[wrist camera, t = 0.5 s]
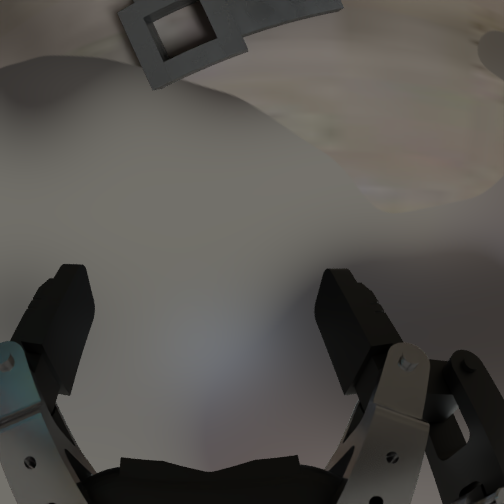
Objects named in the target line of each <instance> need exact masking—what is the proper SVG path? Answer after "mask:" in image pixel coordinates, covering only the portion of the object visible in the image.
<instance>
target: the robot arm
mask: <svg viewBox="0 0 504 504" xmlns="http://www.w3.org/2000/svg"><path fill="white" fill-rule="evenodd" d="M94 313H95V304H94V299H93V296H92V291H91V287H90V283H89V279H88V275H87V271H86V268H85V266H84V265H78V264H63V265H62V266H61V267H60V269H59V270H58V272H57V274H56V275H55V277H54V279H53V278H50V279H48V280H47V281H46V282H45V283H44V284H43V285H42V286H40V287H39V289H38V290H37V292H36V294H35V295H34V297H33V300H32V301H31V303H30V304H29V306H28V309H27V310H26V311H25V313H24V315H23V317H22V319H21V321H20V322H19V325H18V326H17V328H16V330H15V332H14V334H13V336H12V338H11V340H10V341H6V342H2V343H0V462H1V465H2V468H3V470H4V473H5V476H6V478H7V481H8V483H9V485H10V488H11V490H12V493H13V495H14V497H15V499H16V501H17V504H410V503H411V500H412V497H413V493H414V490H415V487H416V484H417V480H418V477H419V473H420V469H421V465H422V461H423V457H424V453H425V452H426V455H427V458H428V461H429V464H430V466H431V469H432V472H433V475H434V478H435V481H436V484H437V487H438V490H439V493H440V497H441V500H442V503H443V504H504V399H503V397H502V396H501V394H500V392H499V390H498V388H497V387H496V385H495V383H494V382H493V380H492V378H491V376H490V375H489V373H488V371H487V370H486V368H485V366H484V365H483V363H482V361H481V360H480V359H479V358H478V357H477V356H476V355H475V354H473V353H471V352H469V351H467V350H458V351H456V352H454V353H453V355H452V356H451V357H450V359H449V361H440V360H431V359H428V357H427V355H426V354H425V353H424V352H423V351H422V350H421V349H420V348H419V347H417V346H415V345H413V344H409V343H404V342H403V341H402V339H401V337H400V336H399V334H398V332H397V331H396V329H395V327H394V326H393V324H392V323H391V321H390V319H389V318H388V316H387V315H386V313H384V310H383V308H382V306H381V305H380V304H379V302H378V300H377V299H376V297H375V295H374V294H373V292H372V291H371V290H369V289H368V288H367V287H366V286H365V285H363V284H362V283H357V281H356V280H355V279H354V277H353V275H352V273H351V272H350V270H348V269H326V270H325V271H324V273H323V277H322V280H321V284H320V288H319V292H318V295H317V299H316V302H315V311H314V313H315V320H316V322H317V325H318V328H319V330H320V333H321V335H322V338H323V340H324V343H325V346H326V348H327V351H328V353H329V356H330V359H331V361H332V364H333V366H334V369H335V372H336V374H337V377H338V380H339V382H340V385H341V387H342V390H343V393H344V395H350V394H356V393H357V395H358V397H359V400H358V402H357V403H356V406H355V408H354V411H353V413H352V416H351V418H350V421H349V423H348V425H347V427H346V430H345V432H344V435H343V437H342V439H341V441H340V443H339V445H338V448H337V450H336V451H335V453H334V454H333V456H332V457H331V459H330V461H329V462H328V464H327V466H326V467H325V469H320V468H316V467H313V466H307V465H300V463H299V459H298V455H295V456H287V457H280V458H270V459H260V460H253V461H250V462H247V463H244V464H240V465H237V466H233V467H230V468H226V469H222V470H219V471H214V472H204V471H200V470H196V469H191V468H187V467H183V466H179V465H176V464H172V463H168V462H165V461H153V460H141V459H131V458H122V457H121V461H120V467H116V468H112V469H107V470H104V471H101V472H99V473H96V471H95V470H94V468H93V467H92V466H91V464H90V463H89V461H88V460H87V459H86V457H85V456H84V455H83V453H82V452H81V450H80V448H79V447H78V445H77V443H76V441H75V439H74V438H73V435H72V434H71V431H70V429H69V428H68V426H67V424H66V421H65V419H64V417H63V415H62V413H61V411H60V409H59V407H58V405H57V403H56V399H57V396H58V394H63V395H69V396H70V394H71V390H72V387H73V383H74V379H75V376H76V372H77V369H78V365H79V362H80V359H81V355H82V352H83V349H84V346H85V343H86V340H87V337H88V334H89V331H90V328H91V325H92V322H93V319H94ZM458 407H459V409H460V411H461V413H462V415H463V417H464V419H465V422H466V424H467V426H468V428H469V431H470V438H469V441H468V443H467V444H466V441H465V439H464V437H463V434H462V432H461V430H460V428H459V425H458V423H457V421H456V419H455V416H454V414H453V413H454V412H455V411H456V409H458Z"/></svg>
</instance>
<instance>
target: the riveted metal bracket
mask: <svg viewBox="0 0 504 504" xmlns="http://www.w3.org/2000/svg"><path fill="white" fill-rule="evenodd" d="M133 1H134V3H133V4H132V5H130V6H128V7H126V8H125V9H123V10H121V11H120V12H118V16H119V18H120V20H121V22H122V25H123V27H124V29H125V31H126V33H127V36H128V38H129V40H130V42H131V44H132V47H133V49H134V51H135V53H136V55H137V58H138V60H139V62H140V64H141V66H142V68H143V70H144V72H145V75H146V77H147V79H148V81H149V83H150V86H151V88H152V90H157V89H162V88H164V87H166V86H168V85H170V84H172V83H174V82H176V81H178V80H180V79H183V78H185V77H187V76H189V75H191V74H193V73H196V72H198V71H200V70H203V69H205V68H207V67H210V66H212V65H214V64H217V63H219V62H222V61H224V60H227V59H230V58H232V57H235V56H238V55H240V54H243V53H246V52H248V48H247V46H246V44H245V42H244V39H243V37H246V36H248V35H251V34H254V33H257V32H260V31H264V30H267V29H270V28H273V27H277V26H280V25H283V24H287V23H291V22H294V21H298V20H302V19H306V18H310V17H314V16H319V15H323V14H328V13H333V12H338V11H340V10H341V9H343V8H344V7H343V5H342V3H341V0H133ZM197 1H200V2H201V4H202V6H203V8H204V10H205V12H206V14H207V16H208V19H209V21H210V23H211V25H212V27H213V29H214V31H215V34H216V36H217V39H214V40H212V41H209V42H207V43H204V44H202V45H200V46H197V47H195V48H193V49H191V50H188V51H186V52H184V53H182V54H180V55H178V56H175V57H173V58H171V59H169V56H168V54H167V52H166V50H165V48H164V46H163V43H162V41H161V39H160V37H159V35H158V33H157V30H156V28H155V26H154V24H153V22H154V21H156V20H158V19H160V18H162V17H164V16H166V15H168V14H170V13H172V12H174V11H177V10H179V9H181V8H183V7H185V6H188V5H190V4H192V3H195V2H197Z"/></svg>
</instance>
